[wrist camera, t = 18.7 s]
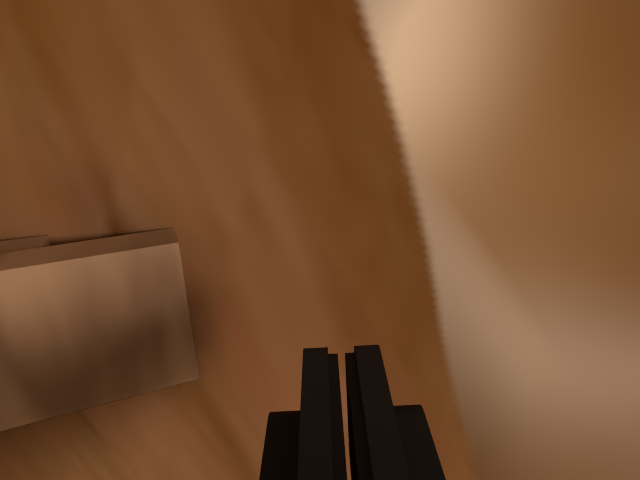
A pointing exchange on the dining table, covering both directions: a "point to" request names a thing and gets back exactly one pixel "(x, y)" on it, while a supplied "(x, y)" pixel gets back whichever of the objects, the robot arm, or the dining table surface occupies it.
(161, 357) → the domino
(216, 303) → the dining table surface
